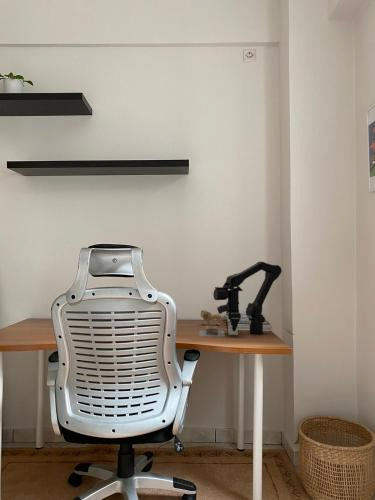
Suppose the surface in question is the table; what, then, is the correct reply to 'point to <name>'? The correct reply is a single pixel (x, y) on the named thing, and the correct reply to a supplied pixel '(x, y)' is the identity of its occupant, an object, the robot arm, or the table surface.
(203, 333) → the slate pad
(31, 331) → the table surface
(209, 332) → the walnut block
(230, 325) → the sage cube
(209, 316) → the lion figurine
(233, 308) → the robot arm
